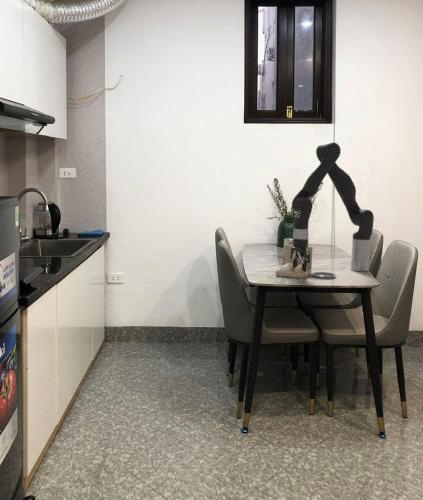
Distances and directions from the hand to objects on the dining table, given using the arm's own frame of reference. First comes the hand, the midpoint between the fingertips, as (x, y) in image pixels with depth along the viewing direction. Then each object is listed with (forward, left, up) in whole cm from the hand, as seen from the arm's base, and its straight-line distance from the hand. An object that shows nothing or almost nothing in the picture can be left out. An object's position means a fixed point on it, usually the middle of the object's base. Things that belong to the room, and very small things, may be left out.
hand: (299, 269), depth 243 cm
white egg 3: (-7, 0, -1) cm, 7 cm away
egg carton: (-3, -4, -4) cm, 6 cm away
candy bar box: (-20, -8, -4) cm, 22 cm away
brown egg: (0, 0, -1) cm, 1 cm away
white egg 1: (0, -7, -1) cm, 7 cm away
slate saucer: (-5, +11, -4) cm, 13 cm away
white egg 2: (-7, -7, -1) cm, 10 cm away
